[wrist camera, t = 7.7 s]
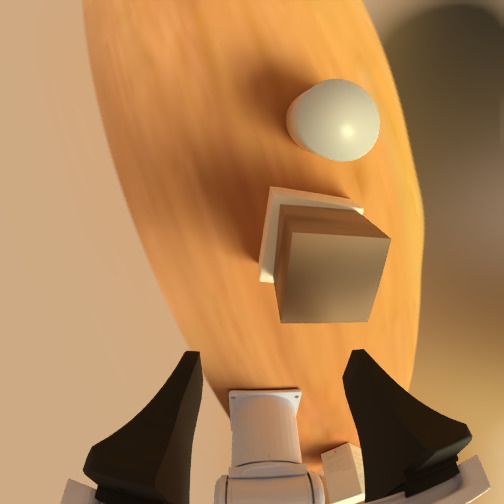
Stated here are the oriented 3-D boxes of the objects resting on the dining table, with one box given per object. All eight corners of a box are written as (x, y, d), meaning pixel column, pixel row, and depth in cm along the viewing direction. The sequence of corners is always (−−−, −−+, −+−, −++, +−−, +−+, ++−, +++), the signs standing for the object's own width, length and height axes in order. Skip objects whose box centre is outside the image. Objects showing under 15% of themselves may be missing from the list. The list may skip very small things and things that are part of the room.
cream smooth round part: (346, 156, 18) (377, 165, 14) (284, 151, 18) (297, 158, 13) (349, 95, 16) (380, 87, 12) (286, 88, 16) (299, 73, 12)
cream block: (331, 269, 22) (341, 288, 19) (258, 261, 22) (259, 281, 19) (348, 197, 20) (363, 209, 17) (269, 185, 19) (273, 194, 17)
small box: (319, 453, 37) (328, 504, 27) (349, 441, 35) (362, 493, 26) (339, 461, 39) (348, 506, 30) (365, 449, 38) (377, 495, 28)
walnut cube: (342, 278, 19) (367, 321, 14) (272, 276, 19) (280, 323, 14) (356, 210, 17) (390, 238, 12) (280, 204, 17) (292, 232, 12)
